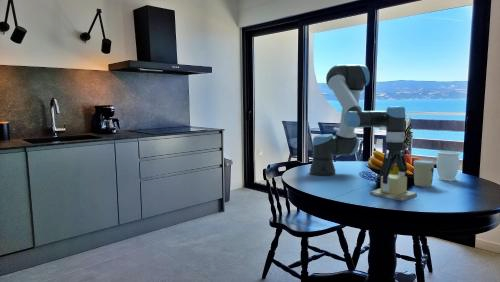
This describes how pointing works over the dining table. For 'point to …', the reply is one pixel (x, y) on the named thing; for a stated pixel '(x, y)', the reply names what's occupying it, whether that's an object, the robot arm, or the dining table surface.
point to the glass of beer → (394, 169)
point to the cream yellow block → (395, 184)
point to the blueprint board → (392, 196)
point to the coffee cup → (423, 173)
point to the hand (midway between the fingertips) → (393, 188)
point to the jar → (447, 165)
